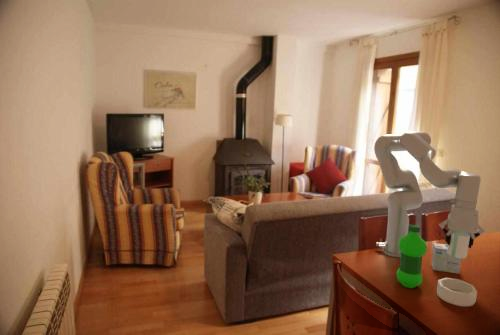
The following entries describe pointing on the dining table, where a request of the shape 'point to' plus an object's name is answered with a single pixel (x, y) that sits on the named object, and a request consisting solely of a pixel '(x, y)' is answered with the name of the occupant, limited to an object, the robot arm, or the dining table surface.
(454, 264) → the light bulb box
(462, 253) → the can
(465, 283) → the white octagonal bowl
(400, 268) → the plastic bottle
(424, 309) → the dining table surface
